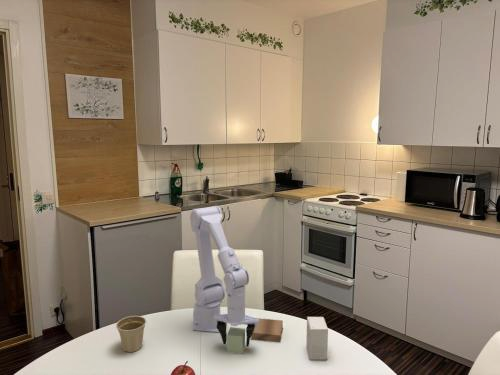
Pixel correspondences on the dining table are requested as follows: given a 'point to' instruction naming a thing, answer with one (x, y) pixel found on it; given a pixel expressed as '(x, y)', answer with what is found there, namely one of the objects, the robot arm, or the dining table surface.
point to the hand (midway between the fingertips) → (236, 343)
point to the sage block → (236, 340)
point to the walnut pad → (268, 330)
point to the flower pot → (131, 332)
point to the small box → (317, 338)
